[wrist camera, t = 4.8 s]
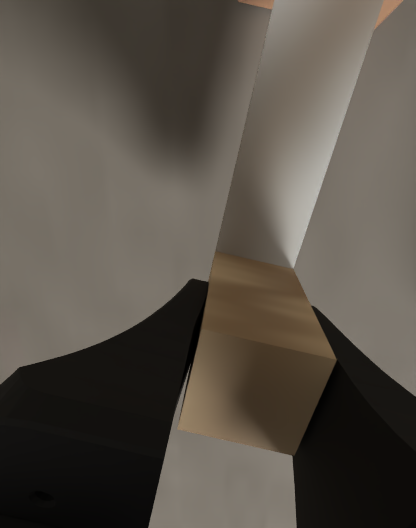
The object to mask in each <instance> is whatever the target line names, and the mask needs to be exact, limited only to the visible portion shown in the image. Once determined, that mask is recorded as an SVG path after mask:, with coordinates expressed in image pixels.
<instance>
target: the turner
mask: <svg viewBox="0 0 416 528" xmlns="http://www.w3.org/2000/svg"><path fill="white" fill-rule="evenodd" d="M383 1H384V0H274V3H273V7H272V11H271V16H270V20H269V24H268V29H267V33H266V37H265V41H264V46H263V50H262V54H261V58H260V63H259V67H258V71H257V76H256V80H255V84H254V88H253V93H252V97H251V101H250V105H249V110H248V114H247V118H246V123H245V127H244V131H243V135H242V140H241V144H240V148H239V152H238V157H237V161H236V165H235V170H234V174H233V178H232V182H231V187H230V191H229V195H228V199H227V204H226V208H225V212H224V217H223V221H222V225H221V229H220V234H219V238H218V242H217V246H216V251H215V255H214V259H213V264H212V268H211V272H210V276H209V281H208V282H209V287H208V293H207V297H206V302H205V306H204V310H203V314H202V318H201V323H200V327H199V331H198V335H197V339H196V343H195V348H194V352H193V356H192V360H191V365H190V370H189V375H188V380H187V385H186V389H185V394H184V399H183V404H182V409H181V414H180V419H179V424H178V429H179V430H183V431H188V432H192V433H196V434H201V435H205V436H210V437H214V438H218V439H223V440H227V441H231V442H236V443H240V444H245V445H249V446H253V447H258V448H262V449H267V450H271V451H275V452H280V453H284V454H288V455H293V456H295V453H296V451H297V449H298V446H299V444H300V442H301V440H302V437H303V435H304V433H305V431H306V428H307V426H308V424H309V422H310V419H311V417H312V415H313V413H314V410H315V408H316V406H317V404H318V401H319V399H320V397H321V395H322V392H323V390H324V388H325V386H326V383H327V381H328V379H329V377H330V374H331V372H332V370H333V367H334V365H335V363H336V361H337V359H336V357H335V355H334V353H333V351H332V349H331V346H330V344H329V342H328V340H327V338H326V336H325V334H324V332H323V330H322V328H321V326H320V324H319V322H318V319H317V317H316V315H315V313H314V311H313V309H312V307H311V305H310V303H309V301H308V299H307V297H306V295H305V292H304V290H303V288H302V286H301V284H300V282H299V280H298V278H297V276H296V274H295V272H294V270H293V268H294V265H295V262H296V259H297V256H298V253H299V250H300V247H301V244H302V241H303V238H304V235H305V233H306V230H307V227H308V224H309V221H310V218H311V215H312V212H313V209H314V206H315V203H316V200H317V197H318V194H319V191H320V188H321V185H322V182H323V179H324V176H325V173H326V170H327V167H328V164H329V161H330V158H331V155H332V152H333V150H334V147H335V144H336V141H337V138H338V135H339V132H340V129H341V126H342V123H343V120H344V117H345V114H346V111H347V108H348V105H349V102H350V99H351V96H352V93H353V90H354V87H355V84H356V81H357V78H358V75H359V72H360V69H361V66H362V64H363V61H364V58H365V55H366V52H367V49H368V46H369V43H370V40H371V37H372V34H373V31H374V28H375V25H376V22H377V19H378V16H379V13H380V10H381V7H382V4H383Z"/></svg>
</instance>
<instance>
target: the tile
mask: <svg viewBox="0 0 416 528" xmlns="http://www.w3.org/2000/svg"><path fill="white" fill-rule="evenodd" d="M402 1H403V0H384V1H383V4H382V7H381V10H380V13H379V16H378V19H377V22H376V25H375V28H374V30H375V29H376V27H377V26H378V25H379V24H380V23H381V22H382V21H383V20H384V19H385V18H386V17H387V16H388V15H389V14H390V13H391V12H392V11H393V10H394V9H395V8H396V7H397V6H398V5H399V4H400V3H401V2H402ZM238 2H242V3H246V4H251V5H255V6H259V7H263V8H268V9H272V7H273V3H274V0H238Z"/></svg>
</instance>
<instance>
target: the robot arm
mask: <svg viewBox="0 0 416 528" xmlns="http://www.w3.org/2000/svg"><path fill="white" fill-rule="evenodd" d="M208 287H209V282H206V281H201V280H197V279H191V280H189V281H188V283H187V284H186V285H185V286H184V287H183V288H182V289H181V290H180V291H179V292H178V293H177V294H176V295H175V296H174V297H173V298H172V299H171V300H170V301H169V302H167V303H166V304H165V305H164V306H163V307H161V308H160V309H159V310H157V311H156V312H155V313H153V314H152V315H151V316H149V317H148V318H146V319H145V320H143V321H142V322H140V323H139V324H137V325H135V326H133V327H132V328H130V329H128V330H126V331H124V332H123V333H121V334H119V335H116V336H114V337H112V338H110V339H108V340H106V341H104V342H101V343H99V344H96V345H93V346H91V347H88V348H86V349H83V350H80V351H77V352H74V353H71V354H68V355H64V356H61V357H57V358H54V359H50V360H46V361H42V362H39V363H35V364H31V365H27V366H23V367H19V368H18V369H17V370H16V371H15V372H14V373H13V374H12V375H11V376H10V377H9V378H7V379H6V380H5V381H4V382H3V383H2V384H1V385H0V528H148V526H149V522H150V517H151V513H152V509H153V504H154V500H155V496H156V491H157V487H158V483H159V478H160V474H161V470H162V465H163V461H164V457H165V452H166V448H167V443H168V439H169V435H170V430H171V426H172V421H173V417H174V413H175V410H176V407H177V404H178V401H179V398H180V394H181V391H182V388H183V385H184V382H185V379H186V376H187V373H188V370H189V367H190V364H191V360H192V356H193V352H194V348H195V343H196V339H197V335H198V331H199V327H200V323H201V318H202V314H203V310H204V306H205V302H206V297H207V293H208ZM311 307H312V309H313V311H314V313H315V315H316V317H317V319H318V322H319V324H320V326H321V328H322V330H323V332H324V334H325V336H326V338H327V340H328V342H329V344H330V346H331V349H332V351H333V353H334V355H335V357H336V359H337V361H336V363H335V365H334V367H333V370H332V372H331V374H330V377H329V379H328V381H327V383H326V386H325V388H324V390H323V392H322V395H321V397H320V399H319V401H318V404H317V406H316V408H315V410H314V413H313V415H312V417H311V419H310V422H309V424H308V426H307V428H306V431H305V433H304V435H303V437H302V440H301V442H300V444H299V446H298V449H297V451H296V453H295V456H293V455H292V456H293V470H294V484H295V502H296V522H297V528H416V397H415V396H414V395H413V394H411V393H410V392H409V391H407V390H406V389H405V388H404V387H402V386H401V385H400V384H398V383H397V382H396V381H395V380H393V379H392V378H391V377H390V376H388V375H387V374H386V373H385V372H383V371H382V370H381V369H380V368H379V367H378V366H377V365H375V364H374V363H373V362H372V361H371V360H370V359H369V358H368V357H366V356H365V355H364V354H363V353H362V352H361V351H360V350H359V349H358V348H357V347H356V346H355V345H354V344H353V343H352V342H351V341H350V340H349V339H348V338H347V337H345V336H344V335H343V334H342V333H341V332H340V331H339V330H338V329H337V328H336V327H335V325H334V324H333V323H332V322H331V321H330V320H329V319H328V318H326V317H325V316H324V315H323V314H322V313H321V312H320V311H319V310H318V309H317V308H316V307H314V306H311Z"/></svg>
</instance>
